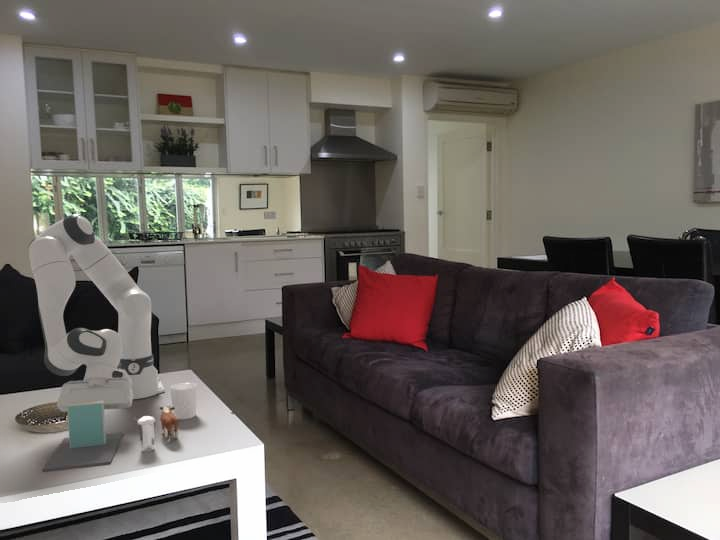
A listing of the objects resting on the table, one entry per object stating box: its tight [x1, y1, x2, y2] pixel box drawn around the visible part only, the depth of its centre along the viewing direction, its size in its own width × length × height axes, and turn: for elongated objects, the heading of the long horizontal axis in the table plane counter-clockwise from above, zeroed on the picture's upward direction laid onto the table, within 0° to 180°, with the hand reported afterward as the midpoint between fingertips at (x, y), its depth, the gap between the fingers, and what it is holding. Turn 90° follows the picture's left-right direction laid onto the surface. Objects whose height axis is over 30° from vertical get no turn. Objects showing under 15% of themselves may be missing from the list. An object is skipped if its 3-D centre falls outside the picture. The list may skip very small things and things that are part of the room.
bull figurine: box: [159, 403, 180, 444], centre depth 168 cm, size 4×13×8 cm, turn 25°
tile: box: [67, 401, 107, 448], centre depth 161 cm, size 2×9×12 cm, turn 104°
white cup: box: [170, 382, 197, 421], centre depth 186 cm, size 8×8×10 cm
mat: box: [42, 431, 124, 472], centre depth 159 cm, size 22×16×1 cm
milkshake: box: [134, 415, 156, 453], centre depth 158 cm, size 5×5×10 cm
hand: (90, 422), depth 164 cm, fingers closed
